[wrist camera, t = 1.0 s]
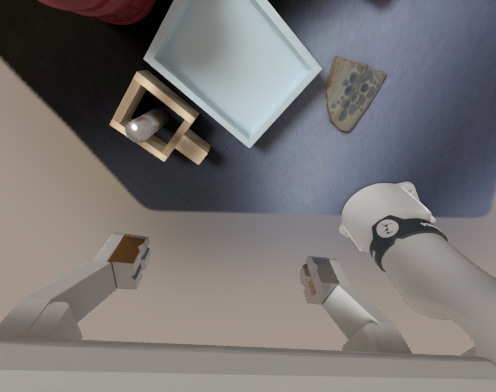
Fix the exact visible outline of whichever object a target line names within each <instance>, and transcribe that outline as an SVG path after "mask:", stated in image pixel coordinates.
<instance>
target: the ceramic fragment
mask: <svg viewBox="0 0 496 392" xmlns="http://www.w3.org/2000/svg"><path fill="white" fill-rule="evenodd" d="M386 74H387V73H385V72H383V71H374V70H372V69H371V68H370V67H369V66H368V65H366V64H363V63H360V62H358V63H355V62H353V61H350V60H347V59H344V58H341V57H338V56H336V57H335V59H334V60H333V63H332V68H331V70H330V74H329V77H328V79H327V83H326V98H327V105H326V106H327V110H328V114H329V121H330V122H331V123H332V124H333V125H335V126H336V127H337V129H338V130H342V131H346V132H350V130H351V129H352V128H353V127H354V126H355V124H356V123H357V122H358V121H359V119H360V118H361V117H362V115H363V114H364V112H365V111H366V109H367V108H368V106H369V105H370V103H371V102H372V100H373V99H374V97H375V95H376V93H377V92H378V90H379V88H380V86H381V84H382V82H383V80H384V78H385V76H386Z"/></svg>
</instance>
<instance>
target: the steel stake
mask: <svg viewBox="0 0 496 392" xmlns="http://www.w3.org/2000/svg"><path fill="white" fill-rule="evenodd" d="M168 121H169V115H168V113H167V111H166V110H165V109H163V108H160V107H157V108H154V109H152V110H151V111H149V112H147V113H145V114H143V115H141V116H140V117H138V118H136V119H134V120H132V121H131V122H129V123H127V125H126V127H125V132H126V135H127V136H128V138H129V139H131V140H132V141H134V142H136V143H143V142H145V141H146V140H147V139H148V138H149V137H151V136H152V135H153V134H154V133H155V132H157V131H158V130H159V129H160V128H162V127H163V126H164V125H165V124H166V123H167V122H168Z"/></svg>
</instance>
